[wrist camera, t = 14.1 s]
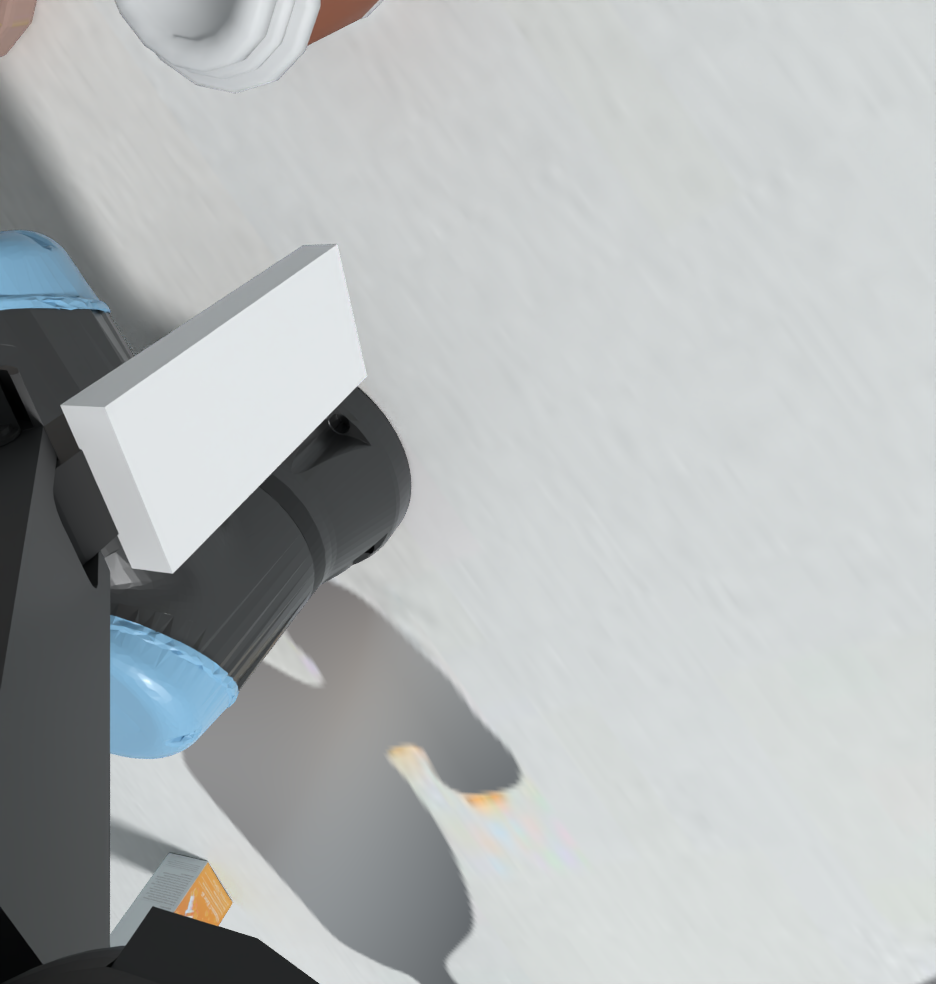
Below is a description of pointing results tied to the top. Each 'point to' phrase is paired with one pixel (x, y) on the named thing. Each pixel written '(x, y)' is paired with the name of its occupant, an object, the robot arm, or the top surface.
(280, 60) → the coffee cup
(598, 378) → the top surface
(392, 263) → the top surface
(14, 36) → the hourglass
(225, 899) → the small box
